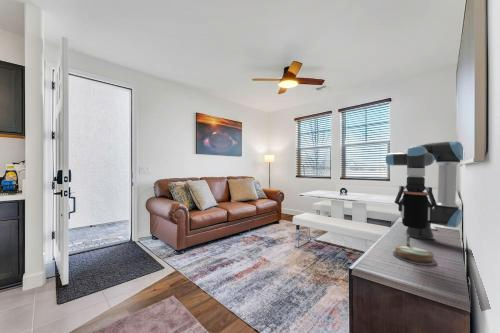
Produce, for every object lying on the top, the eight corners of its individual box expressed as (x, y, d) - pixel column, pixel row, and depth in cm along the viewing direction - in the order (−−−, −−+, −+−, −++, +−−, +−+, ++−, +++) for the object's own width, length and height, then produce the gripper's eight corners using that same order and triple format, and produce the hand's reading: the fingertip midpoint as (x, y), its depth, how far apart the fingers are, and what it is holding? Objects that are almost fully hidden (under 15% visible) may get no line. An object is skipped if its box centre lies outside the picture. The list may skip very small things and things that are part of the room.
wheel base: (409, 249, 125) (409, 247, 125) (445, 263, 108) (445, 260, 108) (385, 252, 120) (385, 250, 120) (419, 267, 102) (419, 264, 102)
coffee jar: (420, 224, 118) (421, 191, 118) (432, 230, 107) (433, 193, 107) (398, 223, 120) (399, 190, 120) (407, 228, 110) (408, 192, 110)
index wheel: (391, 249, 124) (391, 233, 124) (424, 252, 119) (424, 236, 119) (402, 260, 108) (402, 242, 108) (440, 265, 104) (440, 246, 104)
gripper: (438, 177, 114) (437, 219, 114) (388, 175, 121) (387, 215, 121) (446, 177, 107) (445, 222, 107) (392, 175, 114) (391, 218, 114)
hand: (414, 218), depth 114 cm, fingers closed on coffee jar, 11 cm apart
